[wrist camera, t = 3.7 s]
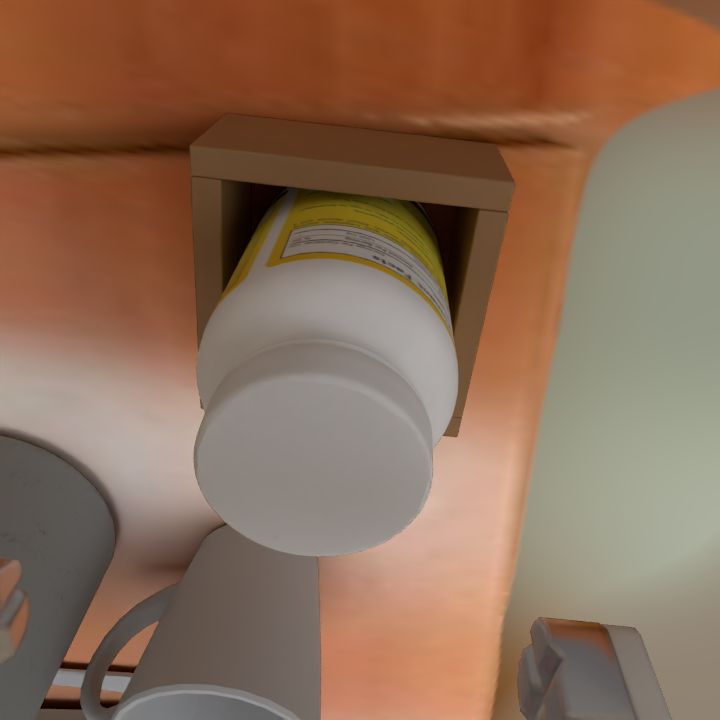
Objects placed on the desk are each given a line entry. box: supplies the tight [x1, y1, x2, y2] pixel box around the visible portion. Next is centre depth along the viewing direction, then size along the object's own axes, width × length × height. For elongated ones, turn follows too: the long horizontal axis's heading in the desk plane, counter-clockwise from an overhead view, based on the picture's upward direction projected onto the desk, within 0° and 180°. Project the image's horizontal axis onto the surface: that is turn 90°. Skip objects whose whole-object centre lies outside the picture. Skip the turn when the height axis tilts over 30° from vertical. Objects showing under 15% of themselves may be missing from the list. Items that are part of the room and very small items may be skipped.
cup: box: [80, 524, 321, 720], centre depth 27 cm, size 8×10×8 cm
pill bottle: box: [194, 187, 458, 557], centre depth 17 cm, size 6×6×11 cm
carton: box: [189, 113, 515, 437], centre depth 20 cm, size 8×8×4 cm
